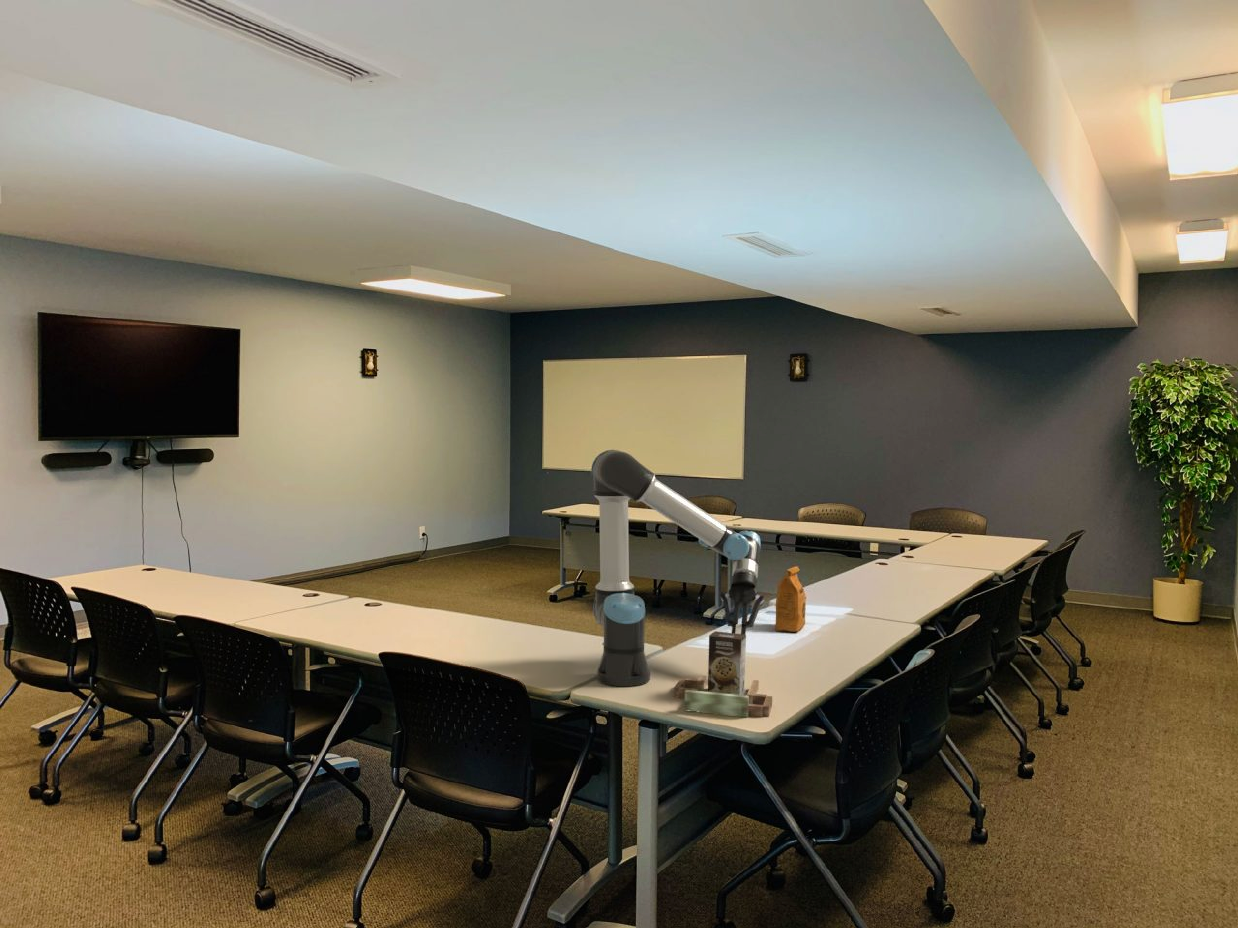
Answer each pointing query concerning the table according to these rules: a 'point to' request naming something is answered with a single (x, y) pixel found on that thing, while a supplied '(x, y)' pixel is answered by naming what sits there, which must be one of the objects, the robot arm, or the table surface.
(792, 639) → the table surface
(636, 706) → the table surface
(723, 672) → the coffee box
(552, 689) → the table surface
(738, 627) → the robot arm
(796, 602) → the coffee package
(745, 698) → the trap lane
